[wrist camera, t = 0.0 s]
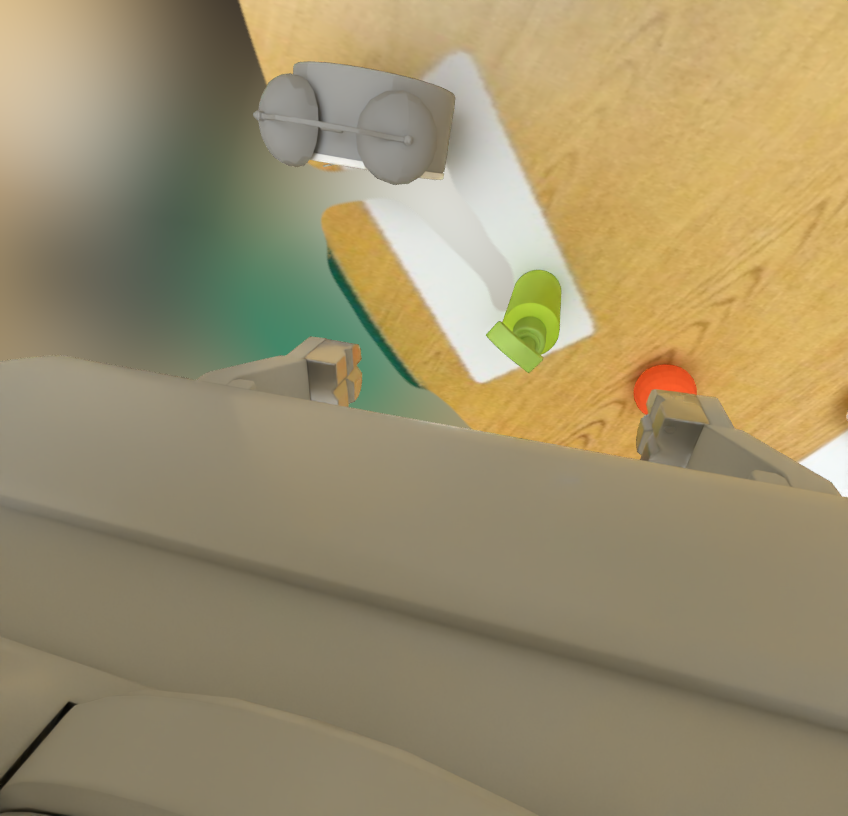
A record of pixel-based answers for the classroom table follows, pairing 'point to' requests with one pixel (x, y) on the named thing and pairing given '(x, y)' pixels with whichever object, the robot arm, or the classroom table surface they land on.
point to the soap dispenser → (530, 320)
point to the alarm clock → (357, 121)
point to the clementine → (662, 383)
